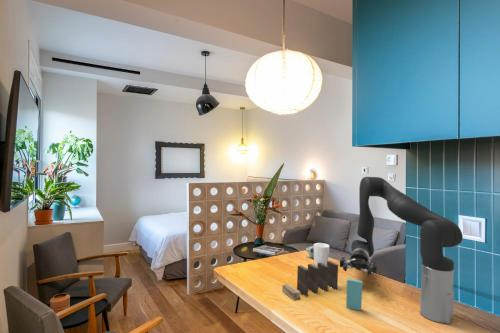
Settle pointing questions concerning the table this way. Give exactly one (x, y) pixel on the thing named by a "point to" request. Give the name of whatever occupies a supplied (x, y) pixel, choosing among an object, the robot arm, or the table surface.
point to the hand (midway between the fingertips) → (356, 271)
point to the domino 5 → (354, 294)
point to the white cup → (321, 253)
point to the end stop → (291, 291)
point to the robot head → (310, 251)
